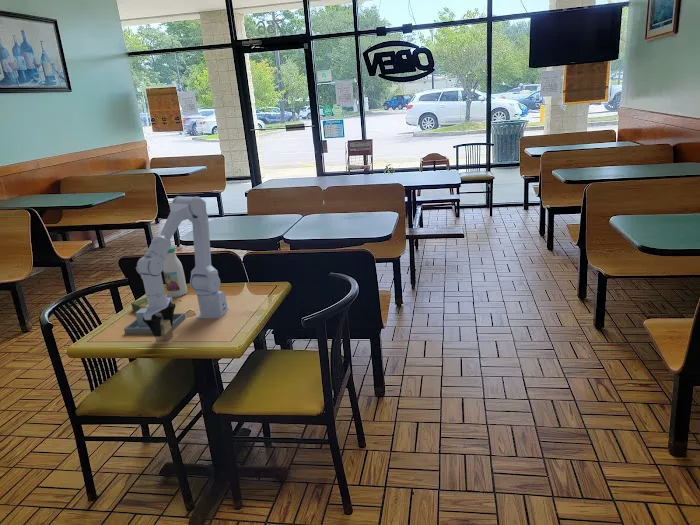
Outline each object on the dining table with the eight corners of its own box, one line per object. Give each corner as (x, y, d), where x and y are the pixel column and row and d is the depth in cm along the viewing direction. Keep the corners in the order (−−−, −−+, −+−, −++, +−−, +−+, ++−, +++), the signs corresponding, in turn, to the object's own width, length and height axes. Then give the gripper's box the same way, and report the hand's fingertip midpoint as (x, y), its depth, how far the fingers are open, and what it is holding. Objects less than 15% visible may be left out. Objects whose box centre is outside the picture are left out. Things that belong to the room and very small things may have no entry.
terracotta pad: (180, 335, 175) (180, 334, 175) (170, 345, 169) (169, 343, 169) (161, 335, 177) (161, 334, 176) (150, 345, 170) (150, 343, 170)
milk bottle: (179, 289, 220) (170, 244, 214) (191, 292, 215) (182, 246, 209) (164, 296, 214) (154, 249, 208) (175, 298, 209) (166, 251, 203)
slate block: (155, 323, 186) (151, 308, 184) (149, 328, 182) (145, 312, 180) (144, 323, 186) (141, 308, 185) (138, 328, 183) (135, 312, 181)
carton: (155, 321, 190) (152, 310, 189) (132, 312, 200) (130, 302, 199) (175, 312, 196) (172, 302, 195) (152, 305, 206) (149, 295, 205)
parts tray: (185, 319, 188) (184, 313, 187) (169, 335, 176) (167, 328, 176) (144, 319, 191) (143, 313, 190) (125, 335, 179) (123, 328, 179)
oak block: (173, 336, 174) (169, 319, 172) (167, 341, 170) (163, 324, 168) (162, 336, 175) (158, 319, 173) (156, 341, 171) (152, 324, 169)
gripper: (155, 284, 175) (163, 321, 179) (131, 301, 161) (140, 340, 166) (174, 284, 174) (182, 321, 178) (152, 301, 160) (160, 340, 164)
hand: (163, 330), depth 172 cm, fingers open, 7 cm apart
